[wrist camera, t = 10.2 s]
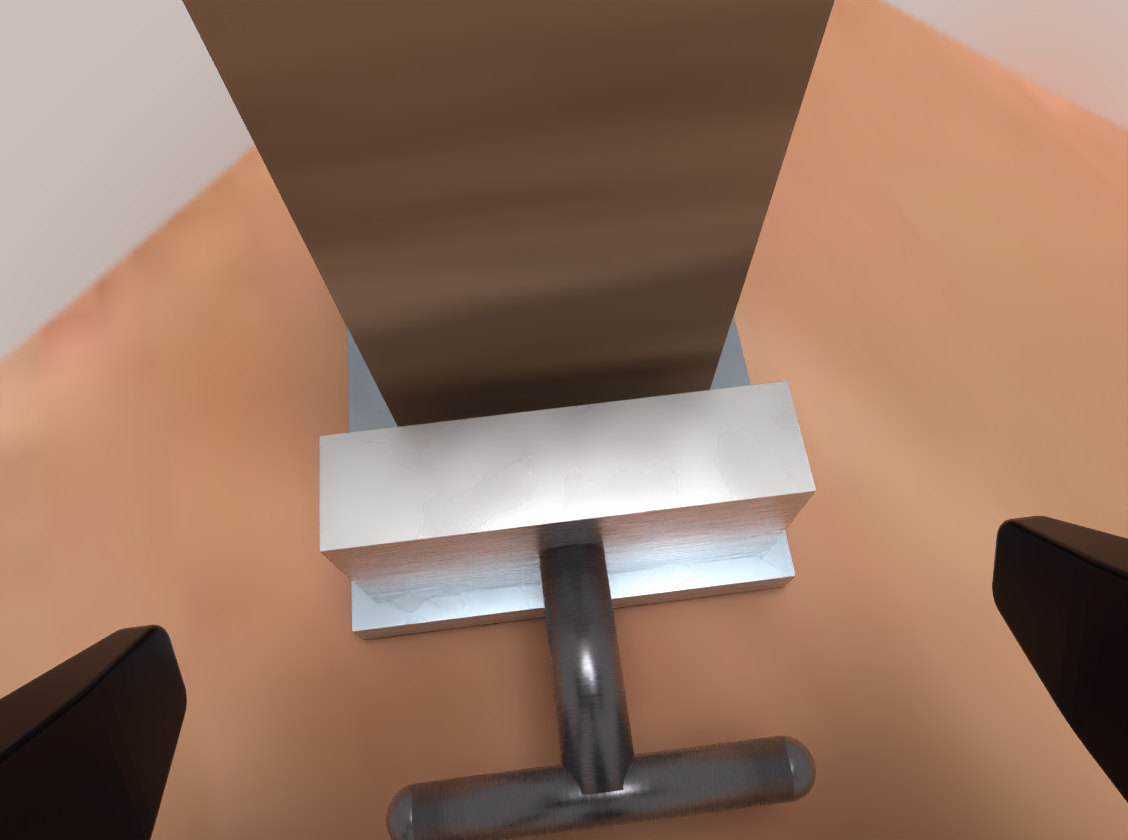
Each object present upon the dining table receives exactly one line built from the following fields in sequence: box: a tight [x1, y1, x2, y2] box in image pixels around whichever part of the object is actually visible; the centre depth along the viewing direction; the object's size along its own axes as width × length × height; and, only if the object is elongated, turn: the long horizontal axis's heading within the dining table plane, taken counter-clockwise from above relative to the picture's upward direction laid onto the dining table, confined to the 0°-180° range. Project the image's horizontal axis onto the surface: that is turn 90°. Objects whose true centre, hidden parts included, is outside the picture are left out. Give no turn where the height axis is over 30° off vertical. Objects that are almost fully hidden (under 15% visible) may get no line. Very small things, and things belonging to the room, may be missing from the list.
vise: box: [320, 316, 816, 840], centre depth 17 cm, size 14×9×5 cm, turn 7°
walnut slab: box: [182, 0, 834, 427], centre depth 13 cm, size 4×6×13 cm, turn 97°
